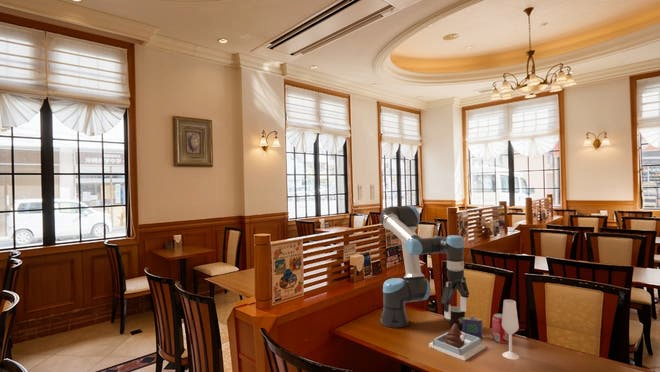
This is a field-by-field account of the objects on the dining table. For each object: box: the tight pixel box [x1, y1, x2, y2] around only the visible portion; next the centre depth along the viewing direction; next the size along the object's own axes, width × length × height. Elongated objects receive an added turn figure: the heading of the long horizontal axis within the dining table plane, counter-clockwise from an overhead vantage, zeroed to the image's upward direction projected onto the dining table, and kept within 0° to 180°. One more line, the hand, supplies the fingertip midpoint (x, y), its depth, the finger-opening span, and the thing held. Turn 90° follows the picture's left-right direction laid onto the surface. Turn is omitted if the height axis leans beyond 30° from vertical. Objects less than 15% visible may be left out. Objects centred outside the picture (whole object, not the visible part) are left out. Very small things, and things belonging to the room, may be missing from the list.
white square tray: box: [428, 330, 486, 362], centre depth 166 cm, size 18×18×4 cm
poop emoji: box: [446, 323, 465, 348], centre depth 166 cm, size 10×8×9 cm
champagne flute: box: [501, 299, 520, 360], centre depth 157 cm, size 7×7×24 cm
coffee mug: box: [443, 306, 466, 331], centre depth 188 cm, size 12×9×10 cm
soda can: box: [491, 313, 509, 344], centre depth 172 cm, size 7×7×12 cm
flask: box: [462, 314, 484, 339], centre depth 177 cm, size 9×3×11 cm, turn 74°
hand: (455, 314), depth 166 cm, fingers open, 13 cm apart
